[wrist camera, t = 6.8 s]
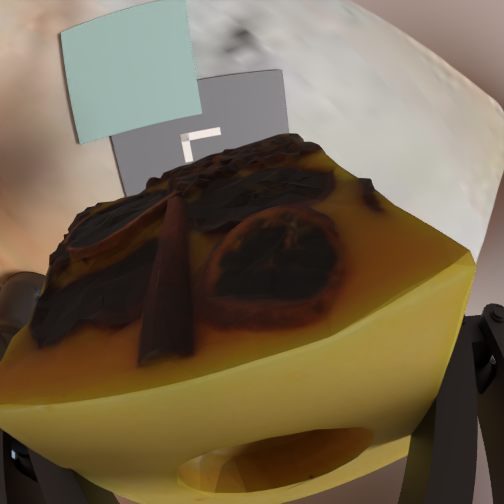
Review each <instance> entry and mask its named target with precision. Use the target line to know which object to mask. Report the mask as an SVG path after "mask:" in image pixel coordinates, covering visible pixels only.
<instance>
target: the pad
mask: <svg viewBox="0 0 504 504" xmlns="http://www.w3.org/2000/svg"><path fill="white" fill-rule="evenodd" d="M61 40H62V49H63V57H64V64H65V71H66V78H67V84H68V89H69V95H70V100H71V105H72V110H73V115H74V120H75V125H76V129H77V133H78V138H79V142H80V145H82V144H85V143H88V142H91V141H95V140H98V139H101V138H104V137H108V136H111V135H114V134H118V133H121V132H125V131H129V130H132V129H136V128H140V127H144V126H148V125H152V124H156V123H160V122H165V121H169V120H174V119H178V118H183V117H188V116H193V115H198V114H202V109H201V103H200V97H199V91H198V84H197V78H196V72H195V65H194V58H193V52H192V45H191V38H190V31H189V24H188V17H187V10H186V3H185V0H160V1H156V2H151V3H147V4H143V5H139V6H136V7H132V8H128V9H125V10H121V11H118V12H115V13H112V14H109V15H106V16H103V17H100V18H97V19H94V20H91V21H88V22H86V23H83V24H80V25H78V26H75V27H73V28H70V29H68V30H66V31H63V32H61Z"/></svg>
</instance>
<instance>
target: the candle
mask: <svg viewBox="0 0 504 504" xmlns="http://www.w3.org/2000/svg"><path fill="white" fill-rule="evenodd" d="M68 231H69V233H68V234H65V235H64V240H63V241H62V242H61V243H59V245H58V248H57V250H56V251H55V252H53V253H52V254H51V255H50V257H49V269H48V271H47V274H46V277H45V280H44V284H43V287H42V291H41V295H40V297H39V299H38V301H37V303H36V305H35V307H34V310H33V312H32V314H31V316H30V318H29V321H28V323H27V325H25V326H24V327H23V328H22V329H21V330H20V331H19V332H18V333H17V334H16V335H15V336H14V337H13V338H12V340H11V342H10V344H9V346H8V348H7V350H6V352H5V354H4V357H3V359H2V360H1V362H0V428H1V429H2V430H4V431H5V432H7V433H8V434H9V435H11V436H12V437H14V438H15V439H17V440H18V441H19V442H21V443H22V444H24V445H25V446H27V447H28V448H30V449H31V450H33V451H35V452H36V453H38V454H39V455H41V456H43V457H44V458H46V459H48V460H49V461H51V462H53V463H55V464H56V465H58V466H60V467H63V468H71V469H72V470H74V471H75V472H77V473H78V474H80V475H81V476H83V477H84V478H86V479H88V480H89V481H91V482H92V483H94V484H96V485H98V486H100V487H102V488H104V489H106V490H109V491H111V492H113V493H115V494H118V495H120V496H123V497H125V498H128V499H130V500H133V501H135V502H138V503H141V504H281V503H284V502H288V501H291V500H295V499H299V498H302V497H305V496H309V495H312V494H315V493H318V492H321V491H324V490H327V489H330V488H333V487H335V486H338V485H340V484H343V483H346V482H348V481H351V480H353V479H356V478H358V477H361V476H363V475H365V474H368V473H370V472H372V471H374V470H377V469H379V468H381V467H384V466H386V465H388V464H390V463H392V462H394V461H396V460H398V459H400V458H402V457H404V456H406V455H407V454H408V451H409V445H410V438H411V434H412V433H413V432H414V430H415V429H416V428H417V426H418V425H419V423H420V422H421V421H422V419H423V418H424V416H425V415H426V413H427V412H428V410H429V409H430V407H431V405H432V403H433V402H434V400H435V398H436V396H437V395H438V392H439V389H440V386H441V383H442V380H443V377H444V374H445V371H446V368H447V365H448V363H449V360H450V357H451V354H452V352H453V349H454V346H455V343H456V340H457V337H458V334H459V330H460V327H461V324H462V320H463V317H464V313H465V310H466V306H467V302H468V298H469V294H470V290H471V286H472V283H473V279H474V275H475V270H476V264H475V261H474V259H473V257H472V254H471V252H470V250H468V249H467V248H465V247H464V246H462V245H461V244H459V243H458V242H456V241H454V240H453V239H451V238H450V237H448V236H446V235H445V234H443V233H442V232H440V231H438V230H437V229H435V228H433V227H432V226H430V225H428V224H427V223H425V222H423V221H422V220H420V219H418V218H417V217H415V216H413V215H411V214H410V213H408V212H406V211H404V210H403V209H401V208H399V207H397V206H395V205H394V204H393V203H391V202H390V201H389V200H388V199H387V198H385V197H384V196H383V195H382V194H380V193H379V192H378V191H377V190H375V189H374V186H373V184H372V180H371V179H367V178H357V177H356V176H354V175H353V174H351V173H349V172H348V171H346V170H345V169H343V168H342V167H340V166H339V165H338V164H337V163H336V162H334V161H333V160H332V159H331V158H330V157H329V156H328V155H326V153H325V152H324V150H323V149H322V148H321V147H320V145H318V144H315V143H313V142H304V141H303V139H302V138H301V137H300V136H299V135H298V134H291V133H285V134H278V135H275V136H272V137H269V138H266V139H263V140H260V141H257V142H254V143H250V144H247V145H244V146H241V147H238V148H235V149H224V151H223V152H221V153H216V154H211V155H209V156H206V157H204V158H201V159H199V160H197V161H195V162H193V163H191V164H188V165H183V166H179V167H177V168H174V169H172V170H169V171H167V172H164V173H163V174H162V176H161V178H156V177H152V178H149V180H148V181H147V183H146V189H145V190H143V191H142V192H141V193H139V194H137V195H132V196H128V197H124V198H120V199H118V200H115V201H112V202H102V203H97V204H96V205H95V206H93V207H87V208H86V209H85V211H83V212H81V213H79V214H77V216H76V217H75V219H74V221H73V223H72V224H71V225H70V227H69V228H68Z"/></svg>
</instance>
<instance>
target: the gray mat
mask: <svg viewBox="0 0 504 504" xmlns="http://www.w3.org/2000/svg"><path fill="white" fill-rule="evenodd" d="M197 84H198V91H199V97H200V103H201V109H202V114H198V115H193V116H188V117H183V118H178V119H174V120H169V121H165V122H160V123H156V124H152V125H148V126H144V127H140V128H136V129H132V130H129V131H125V132H121V133H118V134H114V135H111V137H112V142H113V146H114V150H115V154H116V158H117V162H118V166H119V170H120V174H121V178H122V181H123V185H124V189H125V192H126V196H127V197H128V196H132V195H137V194H139V193H141V192H142V191H143V190H145V189H146V183H147V181H148V180H149V178H152V177H156V178H161V176H162V174H163V173H164V172H167V171H169V170H172V169H174V168H177V167H179V166H183V165H188V164H191V163H193V162H195V161H197V160H199V159H201V158H204V157H206V156H209V155H211V154H216V153H221V152H223V151H224V149H235V148H238V147H241V146H244V145H247V144H250V143H254V142H257V141H260V140H263V139H266V138H269V137H272V136H275V135H278V134H285V133H289V127H288V117H287V108H286V99H285V90H284V81H283V73H282V70H273V71H261V72H251V73H243V74H235V75H227V76H220V77H214V78H208V79H202V80H197Z"/></svg>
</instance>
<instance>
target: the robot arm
mask: <svg viewBox="0 0 504 504" xmlns="http://www.w3.org/2000/svg"><path fill="white" fill-rule="evenodd" d="M45 277H46V276H43V275H40V274H36V273H29V272H24V273H18V274H15V275H13V276H11V277H10V278H9V279H8V280H7V281H6V282H5V284H4V285H3V287H2V288H1V290H0V362H1V360H2V359H3V357H4V354H5V352H6V350H7V348H8V346H9V344H10V342H11V340H12V338H13V337H14V336H15V335H16V334H17V333H18V332H19V331H20V330H21V329H22V328H23V327H24V326H25V325H27V323H28V321H29V318H30V316H31V314H32V312H33V310H34V307H35V305H36V303H37V301H38V299H39V297H40V295H41V291H42V287H43V284H44V280H45ZM493 357H494V358H493ZM494 359H495V361H494ZM477 416H478V419H479V424H480V428H481V432H482V437H483V441H484V446H485V451H486V456H487V462H488V468H489V474H490V480H491V488H492V496H493V504H504V307H503V306H502V305H499V304H492V303H491V304H489V305H486V307H485V308H484V310H483V313H482V314H481V315H475V316H465V315H464V317H463V320H462V324H461V327H460V330H459V334H458V337H457V340H456V343H455V346H454V349H453V352H452V354H451V357H450V360H449V363H448V365H447V368H446V371H445V374H444V377H443V380H442V383H441V386H440V389H439V392H438V395H437V396H436V398H435V400H434V402H433V403H432V405H431V407H430V409H429V410H428V412H427V413H426V415H425V416H424V418H423V419H422V421H421V422H420V423H419V425H418V426H417V428H416V429H415V430H414V432H413V433H412V434H411V438H410V445H409V451H408V457H407V463H406V468H405V474H404V479H403V483H402V488H401V492H400V497H399V501H398V504H472V500H473V493H474V485H475V474H476V461H477V434H478V431H477V430H478V427H477V426H478V423H477V422H478V421H477ZM0 504H120V503H119V502H118V501H117V499H116V497H115V496H114V494H113V492H111V491H109V490H106V489H104V488H102V487H100V486H98V485H96V484H94V483H92V482H91V481H89V480H88V479H86V478H84V477H83V476H81V475H80V474H78V473H77V472H75V471H74V470H72V469H71V468H63V467H60V466H58V465H56V464H55V463H53V462H51V461H49V460H48V459H46V458H44V457H43V456H41V455H39V454H38V453H36V452H35V451H33V450H31V449H30V448H28V447H27V446H25V445H24V444H22V443H21V442H19V441H18V440H17V439H15V438H14V437H12V436H11V435H9V434H8V433H7V432H5V431H4V430H2V429H1V428H0Z"/></svg>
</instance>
